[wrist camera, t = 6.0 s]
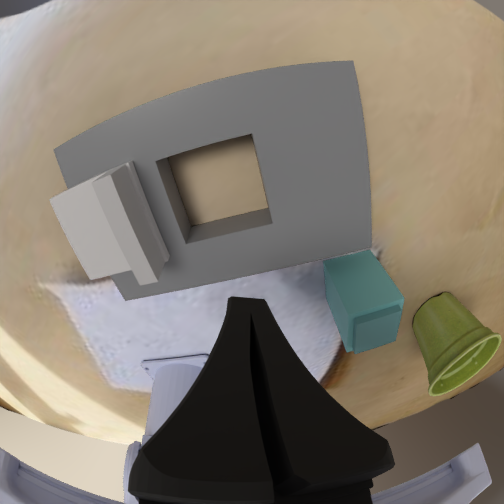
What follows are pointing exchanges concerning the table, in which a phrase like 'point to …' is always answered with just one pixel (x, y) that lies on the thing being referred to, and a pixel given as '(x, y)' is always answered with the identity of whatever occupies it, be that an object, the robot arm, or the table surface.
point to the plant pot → (452, 343)
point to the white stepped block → (112, 226)
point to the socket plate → (270, 164)
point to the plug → (362, 301)
